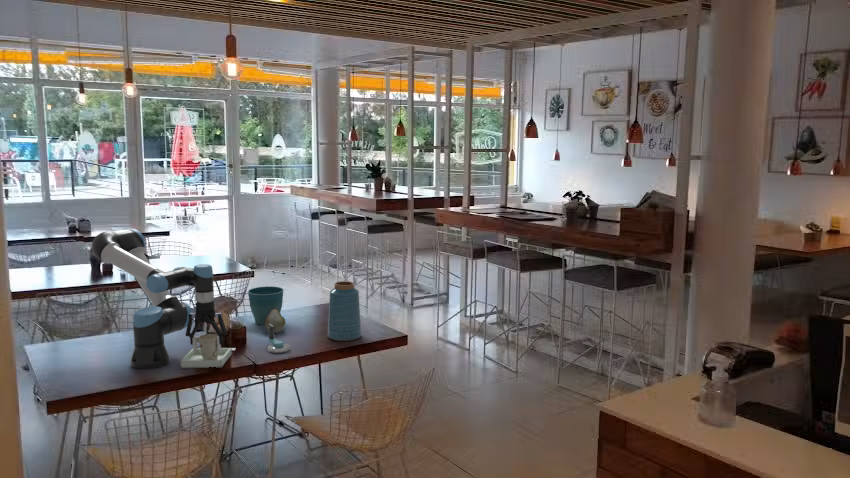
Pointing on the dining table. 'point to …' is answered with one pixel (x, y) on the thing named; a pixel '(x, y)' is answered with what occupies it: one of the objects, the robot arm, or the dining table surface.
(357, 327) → the vase
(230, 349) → the tray
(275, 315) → the fruit
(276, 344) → the crank
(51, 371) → the dining table surface
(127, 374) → the dining table surface
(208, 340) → the mug
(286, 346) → the pedestal
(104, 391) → the dining table surface
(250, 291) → the flower pot
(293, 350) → the dining table surface
